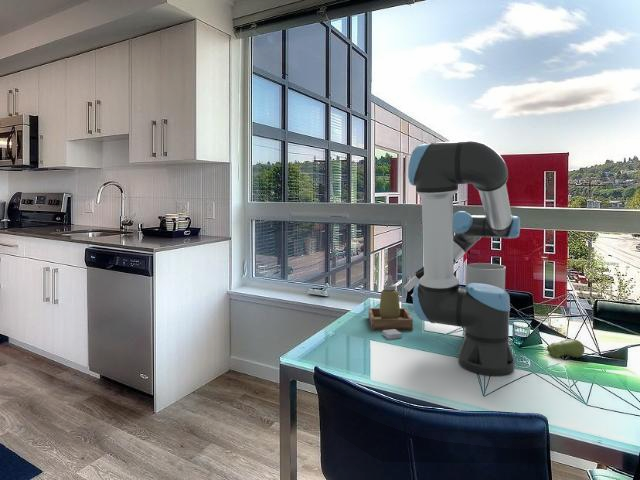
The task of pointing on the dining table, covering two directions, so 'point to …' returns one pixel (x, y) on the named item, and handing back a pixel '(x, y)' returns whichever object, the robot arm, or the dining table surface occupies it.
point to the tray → (390, 320)
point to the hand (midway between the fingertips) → (409, 293)
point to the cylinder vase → (486, 274)
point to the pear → (566, 348)
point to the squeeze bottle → (389, 301)
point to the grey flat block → (392, 334)
